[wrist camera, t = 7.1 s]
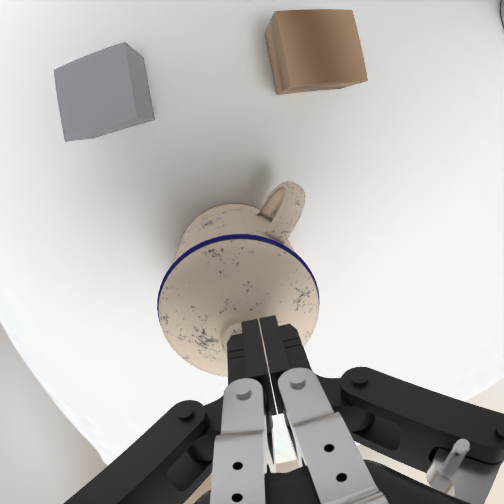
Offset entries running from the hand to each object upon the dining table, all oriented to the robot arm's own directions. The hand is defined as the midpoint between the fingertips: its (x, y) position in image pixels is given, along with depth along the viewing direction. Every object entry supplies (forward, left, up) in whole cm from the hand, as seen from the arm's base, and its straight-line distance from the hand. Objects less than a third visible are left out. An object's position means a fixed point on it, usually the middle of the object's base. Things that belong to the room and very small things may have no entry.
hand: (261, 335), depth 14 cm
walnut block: (-7, -13, -12) cm, 19 cm away
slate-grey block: (+7, -13, -12) cm, 19 cm away
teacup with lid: (0, 0, -13) cm, 13 cm away
